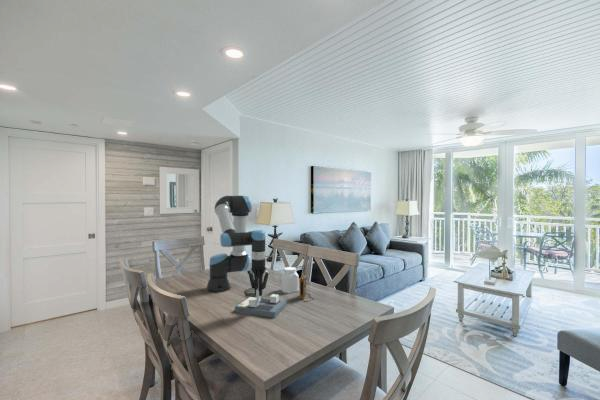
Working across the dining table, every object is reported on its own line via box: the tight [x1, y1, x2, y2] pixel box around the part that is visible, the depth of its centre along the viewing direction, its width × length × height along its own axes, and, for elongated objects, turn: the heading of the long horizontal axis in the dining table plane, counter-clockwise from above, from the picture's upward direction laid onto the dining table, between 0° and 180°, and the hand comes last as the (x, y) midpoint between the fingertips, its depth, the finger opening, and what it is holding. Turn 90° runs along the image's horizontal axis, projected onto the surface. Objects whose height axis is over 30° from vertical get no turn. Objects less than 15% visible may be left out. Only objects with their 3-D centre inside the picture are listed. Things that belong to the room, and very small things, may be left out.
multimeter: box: [299, 264, 315, 303], centre depth 175 cm, size 15×10×20 cm
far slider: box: [269, 293, 280, 303], centre depth 159 cm, size 4×4×4 cm
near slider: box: [249, 298, 259, 307], centre depth 154 cm, size 4×4×4 cm
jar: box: [281, 266, 300, 294], centre depth 189 cm, size 12×10×15 cm
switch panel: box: [234, 296, 287, 319], centre depth 157 cm, size 24×16×3 cm, turn 71°
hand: (258, 301), depth 153 cm, fingers closed
